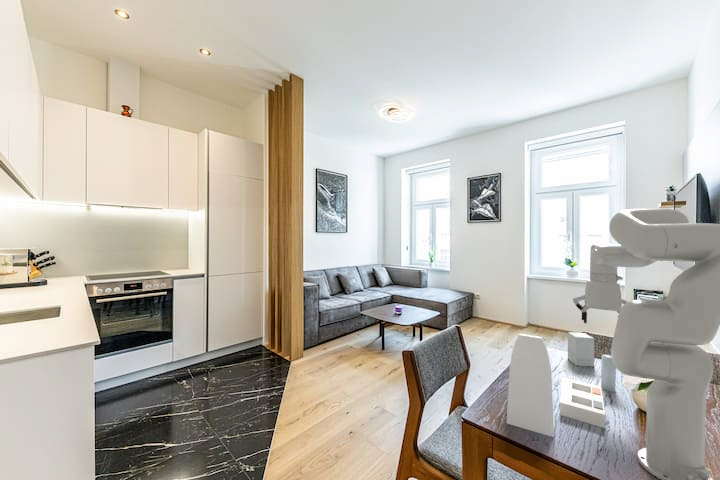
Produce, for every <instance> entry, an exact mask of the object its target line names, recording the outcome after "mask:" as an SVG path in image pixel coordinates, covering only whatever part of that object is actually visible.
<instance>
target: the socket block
mask: <svg viewBox="0 0 720 480" xmlns="http://www.w3.org/2000/svg"><path fill="white" fill-rule="evenodd" d="M560 390H561V391H560V401H559V415H560V416H562V417H563V416H564V417H567V418H570V419H573V420H576V421H580V422H583V423H586V424H589V425H593V426H595V427H600V428H603V429H606V412H605V404H604V398H603V393H602V392H603V391H602V390H603V389H602V388H601V386H600V385H596V384H592V383H589V382H588V383H587V382H583V381H579V380H574V379H571V378H567V377H562V380H561V388H560Z"/></svg>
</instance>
